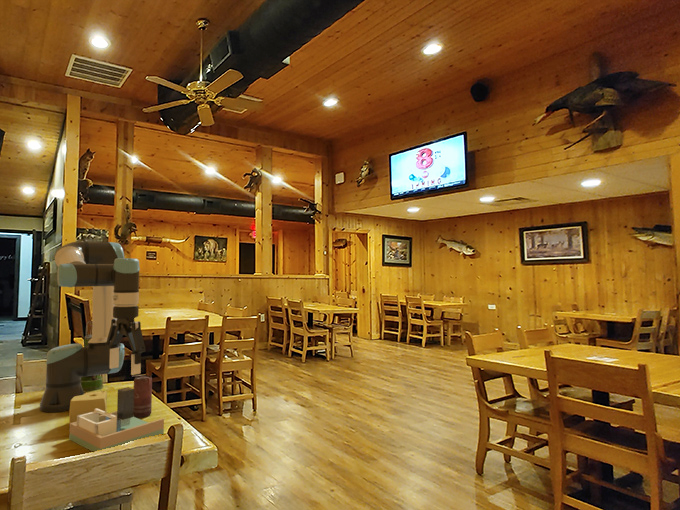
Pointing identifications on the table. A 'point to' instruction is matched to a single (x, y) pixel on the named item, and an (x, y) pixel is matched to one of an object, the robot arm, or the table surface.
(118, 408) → the block
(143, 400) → the can
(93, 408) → the cheese
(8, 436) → the table surface
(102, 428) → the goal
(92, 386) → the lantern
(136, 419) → the pinkish brown tray
